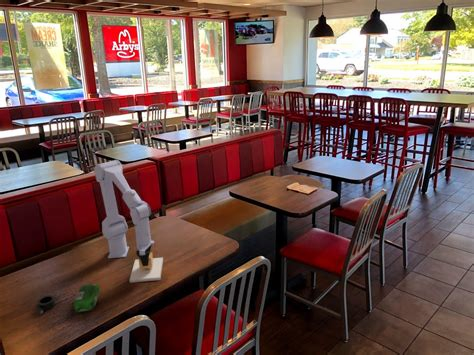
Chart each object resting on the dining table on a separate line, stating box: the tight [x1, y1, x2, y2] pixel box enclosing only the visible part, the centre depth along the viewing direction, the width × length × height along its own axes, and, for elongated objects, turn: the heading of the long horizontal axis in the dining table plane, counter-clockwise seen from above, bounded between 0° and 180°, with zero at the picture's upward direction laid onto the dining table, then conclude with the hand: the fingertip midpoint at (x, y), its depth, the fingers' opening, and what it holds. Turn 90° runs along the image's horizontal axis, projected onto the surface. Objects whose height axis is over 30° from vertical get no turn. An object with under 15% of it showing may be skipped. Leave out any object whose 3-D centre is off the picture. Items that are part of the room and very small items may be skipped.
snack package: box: [73, 283, 100, 313], centre depth 140 cm, size 7×16×5 cm, turn 8°
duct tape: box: [35, 293, 58, 315], centre depth 139 cm, size 8×10×3 cm
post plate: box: [129, 257, 164, 283], centre depth 160 cm, size 16×12×4 cm
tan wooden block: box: [138, 251, 154, 269], centre depth 159 cm, size 5×5×4 cm
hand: (146, 262), depth 160 cm, fingers closed on tan wooden block, 5 cm apart
